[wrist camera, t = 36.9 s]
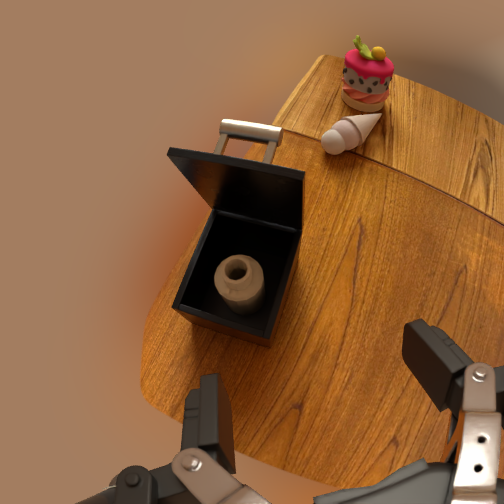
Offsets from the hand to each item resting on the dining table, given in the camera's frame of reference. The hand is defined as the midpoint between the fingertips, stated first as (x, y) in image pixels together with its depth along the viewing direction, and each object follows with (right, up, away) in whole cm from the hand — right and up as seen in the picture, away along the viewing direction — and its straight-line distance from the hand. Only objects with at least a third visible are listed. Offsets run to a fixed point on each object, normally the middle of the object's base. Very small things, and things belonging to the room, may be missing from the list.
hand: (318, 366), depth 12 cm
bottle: (-4, -1, +30) cm, 31 cm away
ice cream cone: (+16, +26, +42) cm, 52 cm away
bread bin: (-4, -1, +32) cm, 32 cm away
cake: (+22, +38, +47) cm, 65 cm away
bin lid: (-3, +10, +19) cm, 21 cm away
